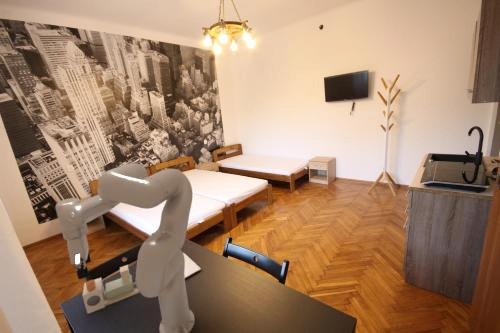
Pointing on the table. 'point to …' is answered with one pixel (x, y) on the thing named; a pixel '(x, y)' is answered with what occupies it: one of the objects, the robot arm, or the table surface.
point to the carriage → (120, 284)
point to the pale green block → (121, 296)
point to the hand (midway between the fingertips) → (85, 269)
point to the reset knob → (90, 285)
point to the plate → (190, 266)
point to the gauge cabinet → (94, 297)
